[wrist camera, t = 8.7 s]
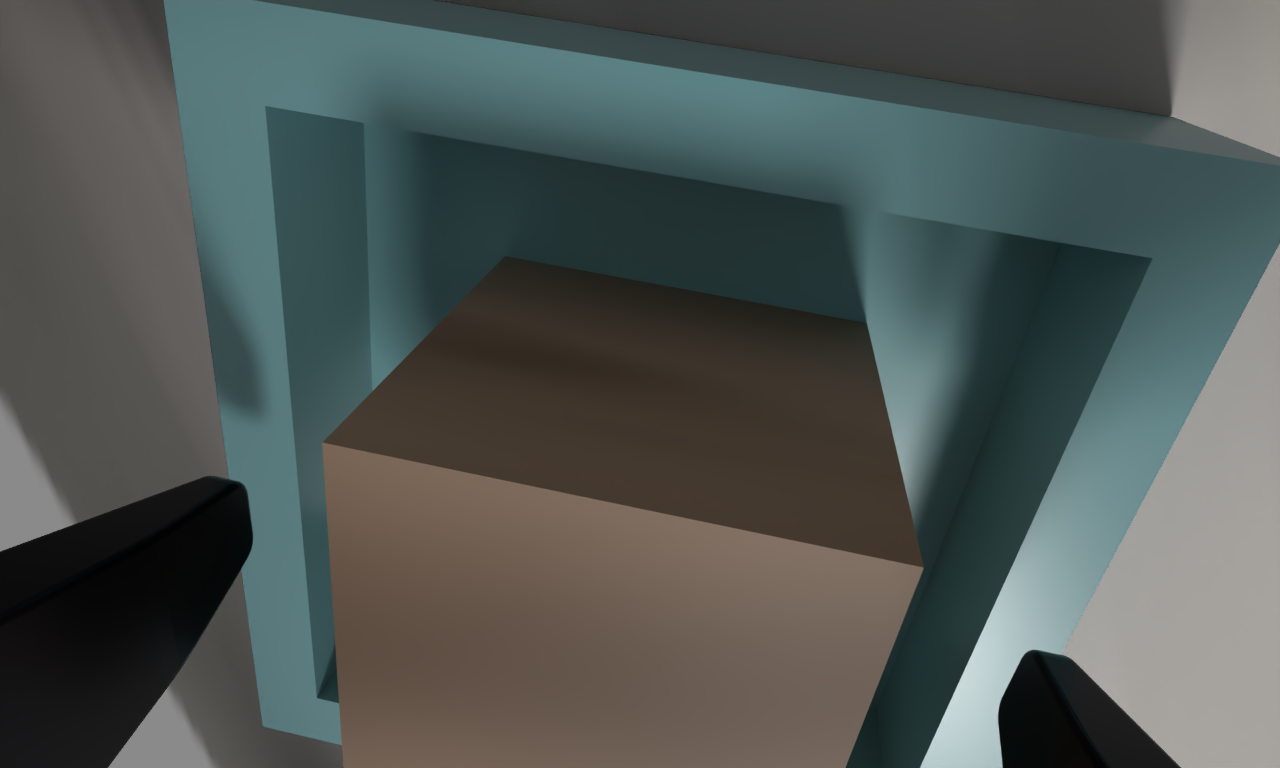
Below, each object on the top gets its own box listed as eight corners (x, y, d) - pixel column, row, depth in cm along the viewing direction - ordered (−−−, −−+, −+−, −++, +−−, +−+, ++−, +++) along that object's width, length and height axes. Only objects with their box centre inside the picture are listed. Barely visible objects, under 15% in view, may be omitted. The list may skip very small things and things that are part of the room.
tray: (911, 725, 15) (938, 886, 12) (349, 600, 16) (263, 726, 13) (1173, 117, 10) (1316, 170, 7) (315, -19, 11) (161, -15, 8)
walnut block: (784, 601, 13) (785, 921, 9) (489, 537, 13) (346, 813, 9) (867, 323, 11) (923, 568, 6) (504, 255, 11) (321, 441, 7)
